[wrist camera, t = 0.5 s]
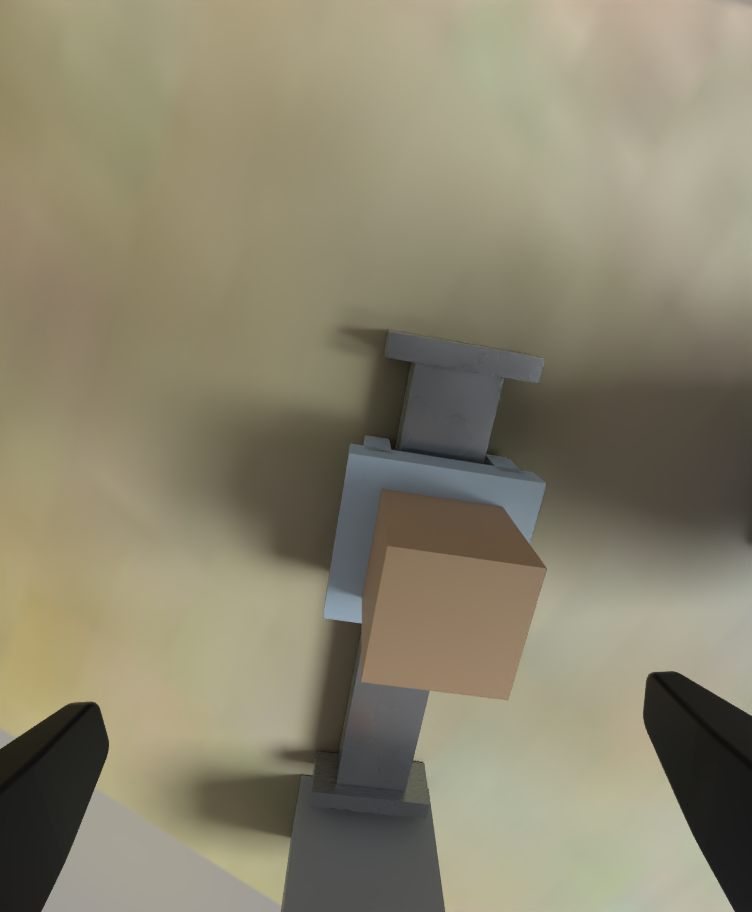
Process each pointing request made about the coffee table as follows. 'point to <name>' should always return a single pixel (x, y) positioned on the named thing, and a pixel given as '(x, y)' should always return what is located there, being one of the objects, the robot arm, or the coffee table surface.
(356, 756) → the rail
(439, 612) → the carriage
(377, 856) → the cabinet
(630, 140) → the coffee table surface
